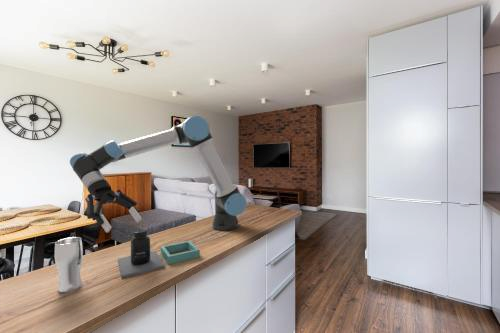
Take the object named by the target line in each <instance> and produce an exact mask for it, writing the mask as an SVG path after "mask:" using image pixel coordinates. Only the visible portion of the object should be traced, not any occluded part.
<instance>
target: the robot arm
mask: <svg viewBox="0 0 500 333" xmlns="http://www.w3.org/2000/svg"><path fill="white" fill-rule="evenodd" d="M210 131H211V130H210V125H209V123H208V121H207V120H206V119H205V117H202V116H199V115H192V116H188V117H187V118H186V119H185V120H184V121H183V122H181V123H179V124H178V125H174V126H172V128H171V129H168V130H163V131H160V132H157V133H153V134H150V135H149V134H148V135H146V136H141V137H139V138H135V139H131V140H128V141H124V142H121V143H117V142H116V141H115V140H110V141H108V142H106V143H104V144H103V145H102V146H100V147H98V148H97V149H95V150H94V151H92V152H91V153H85V152H80V153H78V154H77V153H76V154H73V155H72V156H71V158H70V159H69V165H70V167H72V170H73V172H74V173H75V174H76V176H77V177H78V178H79V179H80V181H81V182H82V184H83V187H85V188H86V189H87V191H88V193H89V194H88V195H86V197H85V201H86V206H87V208H86V211H87V212H86V215H87V220H90V219H92V221H96V223H97V224H98V225H99V226H101V227H102V229H103V230H104V232H105V233H107V234H108V233H110V231H111V230H112V228H113V227H112V225H111V224H110V222H109V221H108V219H107V218H106V217H105V215H104V214H103V213H101V212H102V208H103V205H107V204H117V205H119V206H121V207H123V208H125V209H127V210H128V212H129V214H130V215H131V216H132V218H133V219H134V221H135V222H136V223H139V222H140V221H141V220H142V219H143V218H142V216H141V215H140V214H139V211H138V210H137V208H136V206H137V205H138V202H136V201H135V200H133V199H132V198H130V197H129V196H127V195H126V194H125V193H124V192H123V191H122V190H121V189H117V190H116V191H114V190H112V186H111V184H110V183H109V181H108V180H107V178H106V177H105V176H104V175H103V173H102V172H101V171H100V170H101V169H103V168H105V167H107V166H108V165H109V164H111V163H115V162H116V163H117V162H119V161H121V160H125V159H127V158H131V157H135V156H137V155H138V156H139V155H142V154H145V153H148V152H151V151H154V150H158V149H160V148H165V147H168V146H170V145H171V146H172V145H175V144H178V145H181V144H186V143H188V145H189V146H190V148H191V149H192V150H195V151H196V153H197V155H198V156H199V159H200V160H201V162H202V164H203V166H204V168H205V170H206V172H207V174H208V176H209V177H210V179H211V181H212V183H213V185H214V187H215V189H214V210H215V212H214V213H215V214H214V217H213V220H212V223H211V224H212V229H214V230H215V231H216V230H217V231H233V230H235V229H238V228H239V220H238V216H240V215H241V214H242V213H244V211H245V210H246V208H247V203H248V202H247V199H246V196H244V194H242V193H241V192H240V189H239V187H238V185H237V184H234V183H233V182H232V180H231V178H230V176H229V174H228V172H227V170H226V168H225V167H224V163H223V162H222V161H221V158H220V156H219V155H218V153H217V150H216V149H215V146H214V145H213V139H214V137H213V135H212V133H211V132H210ZM94 201H96V202H97V204H96V208H95V202H94Z"/></svg>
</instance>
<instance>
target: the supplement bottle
mask: <svg viewBox="0 0 500 333" xmlns="http://www.w3.org/2000/svg"><path fill="white" fill-rule="evenodd" d="M150 252H151V237H150V236H149V235H148V229H146V228H139V229H136V230H135V229H134V230H133V234H132V238H131V240H130V256H131V264H133V265H143V264H146V263H148V262H149V261H150Z"/></svg>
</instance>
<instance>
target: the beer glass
mask: <svg viewBox="0 0 500 333" xmlns="http://www.w3.org/2000/svg"><path fill="white" fill-rule="evenodd" d="M83 253H84V251H83V242H82V237H80V236H79V237H78V236H72V237H71V236H70V237H65V238H60V239H59V240H57V241H55V242H54V262H55V268H56V271H57V274H58V279H59V282H58V287H57V292H59V293H61V292H62V293H63V292H66V293H70V291H71V292H74V291H76V290H77V289H79V287H80V288H81V287H82V286H83V281H82V276H81V269H82V263H83V255H84V254H83ZM63 294H64V293H63Z"/></svg>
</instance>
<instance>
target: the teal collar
mask: <svg viewBox="0 0 500 333" xmlns="http://www.w3.org/2000/svg"><path fill="white" fill-rule="evenodd" d="M183 250H187V251H183ZM179 251H183V252H179ZM174 252H178V253H174ZM200 252H201V251H200V249H199V248H198V247H197V246H196V245H195V244H194V243H193V242H192V241H191V240H186V241H180V242H177V243H171V244H165V245H162V246H160V254H161V256H162V257H163V260H165V262H166V263H167V265H168V266H169V265H173V264H176V263H180V262H185V261H189V260H192V259H197V258H200V256H201V255H200V254H201V253H200ZM170 253H174V254H170Z"/></svg>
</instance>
